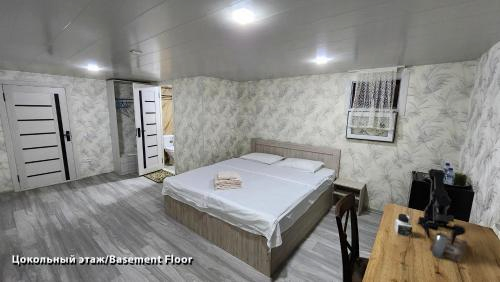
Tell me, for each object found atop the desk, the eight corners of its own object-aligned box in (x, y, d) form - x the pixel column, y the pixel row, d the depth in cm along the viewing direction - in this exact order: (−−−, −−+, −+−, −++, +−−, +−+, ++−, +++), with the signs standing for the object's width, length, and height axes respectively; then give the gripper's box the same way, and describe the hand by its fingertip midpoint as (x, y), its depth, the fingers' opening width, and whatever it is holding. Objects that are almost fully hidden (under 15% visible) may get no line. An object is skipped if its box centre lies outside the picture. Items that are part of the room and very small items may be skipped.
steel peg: (431, 255, 112) (434, 235, 110) (433, 252, 114) (437, 232, 113) (442, 260, 108) (446, 239, 106) (444, 256, 111) (448, 236, 109)
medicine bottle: (397, 234, 130) (399, 217, 128) (394, 228, 137) (396, 211, 135) (411, 237, 127) (413, 219, 125) (407, 231, 134) (409, 213, 132)
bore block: (429, 250, 116) (430, 246, 116) (439, 235, 129) (440, 232, 129) (459, 262, 107) (460, 258, 106) (467, 245, 120) (467, 241, 119)
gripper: (421, 203, 118) (420, 230, 110) (467, 212, 107) (470, 243, 100) (417, 210, 125) (417, 236, 118) (460, 220, 115) (463, 249, 108)
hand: (440, 241), depth 111 cm, fingers open, 9 cm apart
